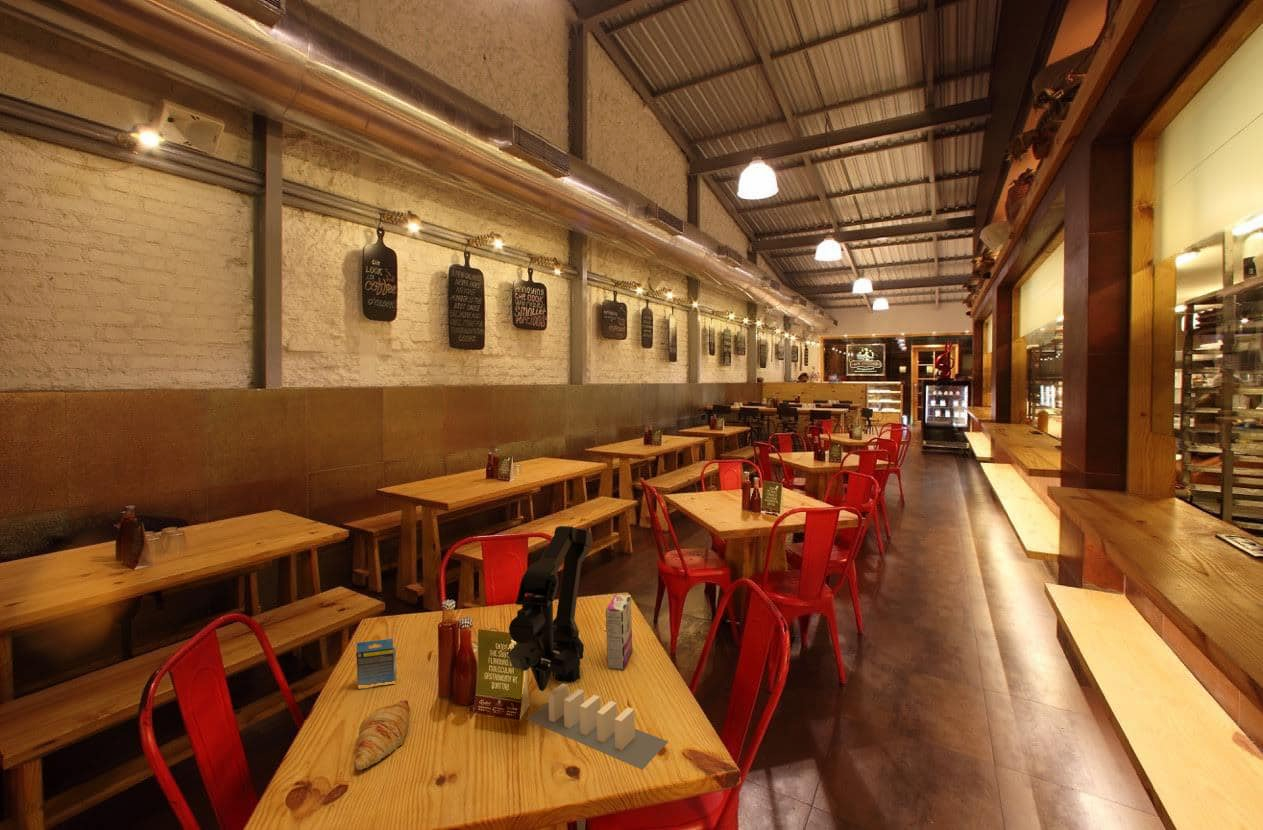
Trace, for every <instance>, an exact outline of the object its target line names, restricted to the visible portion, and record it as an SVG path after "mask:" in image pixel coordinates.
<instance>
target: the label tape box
mask: <svg viewBox="0 0 1263 830" xmlns="http://www.w3.org/2000/svg"><path fill="white" fill-rule="evenodd" d="M374 645H376V646H377V647H376V646H375V647H371V646H374ZM378 645H379V646H378ZM396 649H397V648H396V646H394V638H393V637H391V638H386V639H375V640H374V639H373V640H367V641H357V642H356V652H355V658H356V678H357V686H358V685H371V684H377V683H385V682H392V681H395V679H396V680H397V678H396V675H398V674H397V673H398V672H397V671H398V670H397V669H398V668H397V654H396V653H397V651H396Z"/></svg>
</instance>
